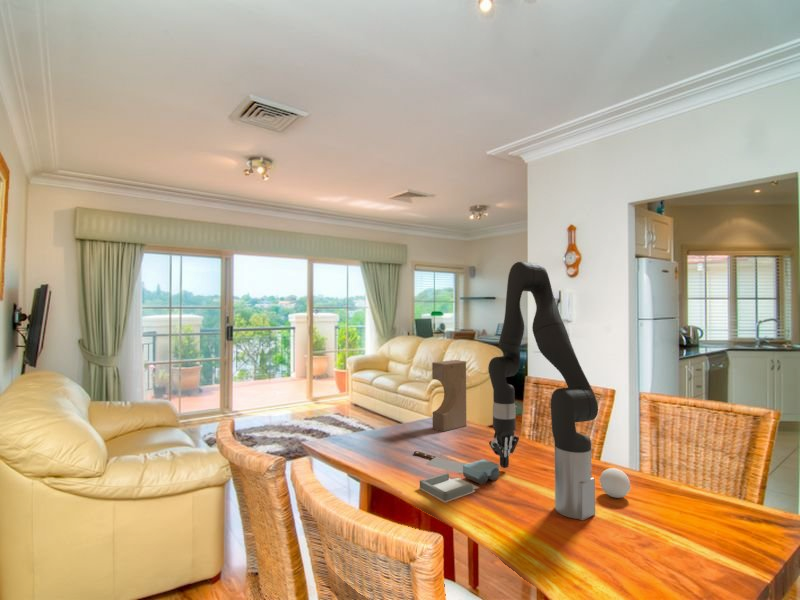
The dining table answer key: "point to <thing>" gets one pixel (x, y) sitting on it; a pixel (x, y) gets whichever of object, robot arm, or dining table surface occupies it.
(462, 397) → the decorative block
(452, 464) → the kitchen cleaver
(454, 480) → the dock
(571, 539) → the dining table surface
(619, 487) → the ball
